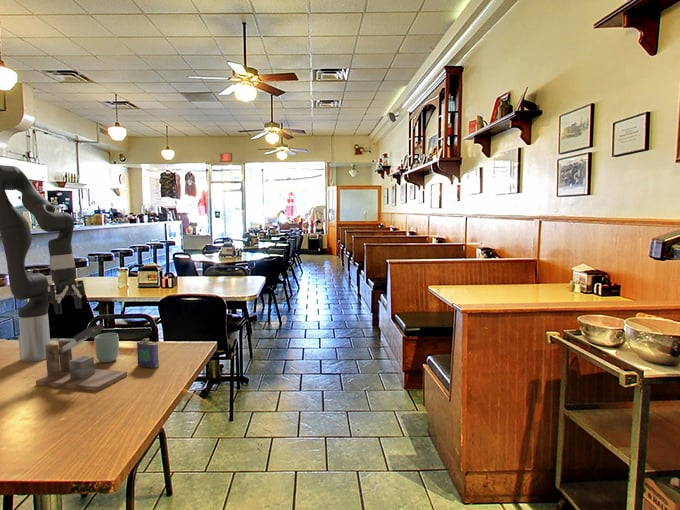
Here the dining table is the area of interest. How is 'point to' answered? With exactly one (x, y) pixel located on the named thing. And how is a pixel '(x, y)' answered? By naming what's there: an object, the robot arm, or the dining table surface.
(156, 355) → the flask
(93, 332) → the lever
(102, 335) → the cup
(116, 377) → the frame
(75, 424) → the dining table surface
